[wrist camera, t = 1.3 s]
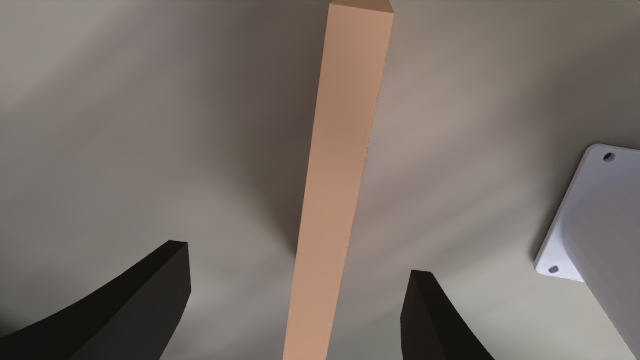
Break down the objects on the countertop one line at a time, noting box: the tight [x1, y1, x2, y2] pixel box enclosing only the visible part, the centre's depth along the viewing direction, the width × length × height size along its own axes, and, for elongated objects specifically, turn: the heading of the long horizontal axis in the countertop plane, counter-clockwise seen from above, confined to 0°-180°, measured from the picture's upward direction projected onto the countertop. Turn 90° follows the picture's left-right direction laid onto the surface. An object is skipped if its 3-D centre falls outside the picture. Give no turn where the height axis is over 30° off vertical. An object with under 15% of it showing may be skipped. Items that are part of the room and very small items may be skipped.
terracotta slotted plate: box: [283, 0, 394, 360], centre depth 20 cm, size 16×2×7 cm, turn 172°
